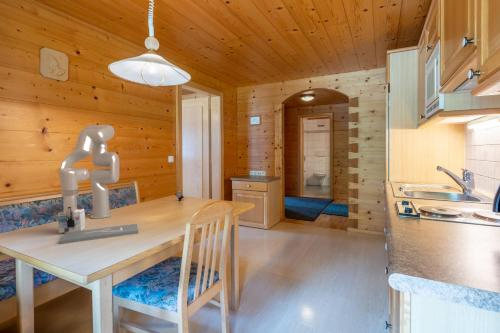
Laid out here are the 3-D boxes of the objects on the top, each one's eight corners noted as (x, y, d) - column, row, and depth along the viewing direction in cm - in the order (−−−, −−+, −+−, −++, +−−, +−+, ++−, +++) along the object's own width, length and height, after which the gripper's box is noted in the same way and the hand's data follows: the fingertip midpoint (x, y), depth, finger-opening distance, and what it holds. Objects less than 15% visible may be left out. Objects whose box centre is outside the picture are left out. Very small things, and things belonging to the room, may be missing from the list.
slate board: (65, 235, 136) (65, 232, 136) (136, 226, 151) (136, 223, 151) (60, 244, 124) (59, 240, 124) (138, 233, 139) (138, 230, 139)
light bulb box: (58, 233, 138) (57, 213, 137) (64, 229, 144) (62, 209, 143) (81, 231, 141) (80, 211, 140) (86, 227, 147) (84, 208, 146)
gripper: (64, 190, 147) (67, 221, 148) (58, 196, 131) (60, 231, 133) (80, 189, 150) (82, 219, 152) (75, 195, 134) (78, 228, 136)
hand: (72, 224), depth 142 cm, fingers closed on light bulb box, 7 cm apart
